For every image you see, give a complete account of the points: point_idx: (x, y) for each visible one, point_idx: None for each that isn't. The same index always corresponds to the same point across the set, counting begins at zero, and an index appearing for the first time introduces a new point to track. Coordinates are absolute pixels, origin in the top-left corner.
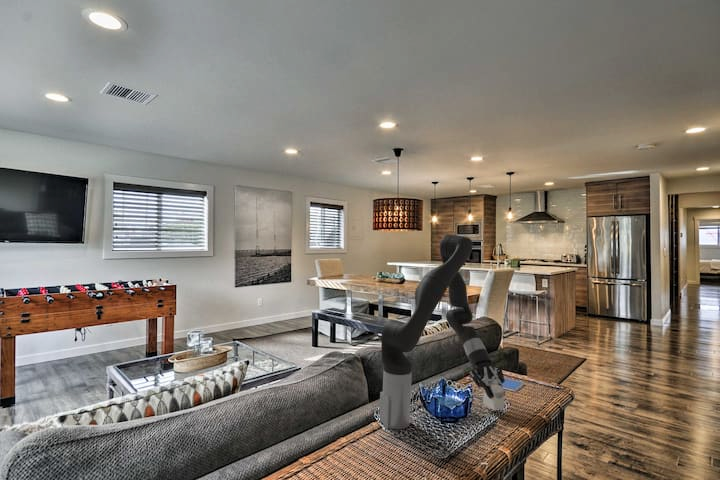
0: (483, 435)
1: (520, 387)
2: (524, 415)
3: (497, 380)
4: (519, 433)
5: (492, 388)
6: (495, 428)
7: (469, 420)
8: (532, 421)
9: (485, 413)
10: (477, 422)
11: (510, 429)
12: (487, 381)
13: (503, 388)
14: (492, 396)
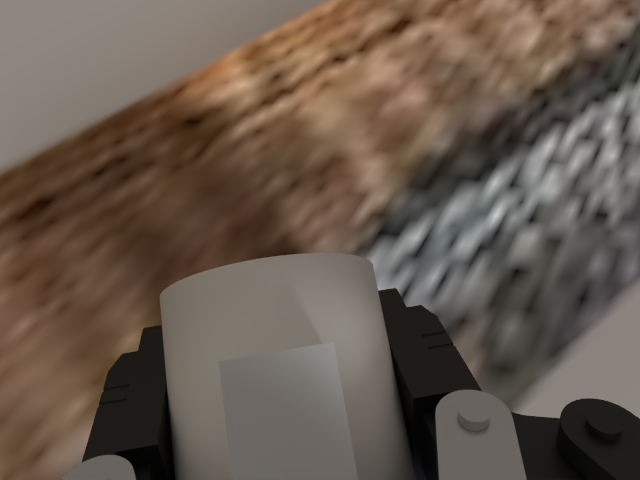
0: (584, 56)
1: None
2: (15, 292)
3: (228, 385)
4: (301, 36)
5: (383, 331)
6: (445, 124)
7: (608, 277)
8: (40, 175)
9: None
10: (551, 233)
11: (333, 93)
12: (454, 475)
13: (174, 288)
14: (393, 290)
